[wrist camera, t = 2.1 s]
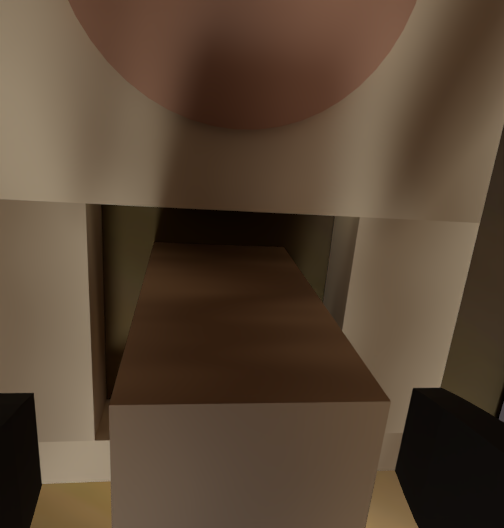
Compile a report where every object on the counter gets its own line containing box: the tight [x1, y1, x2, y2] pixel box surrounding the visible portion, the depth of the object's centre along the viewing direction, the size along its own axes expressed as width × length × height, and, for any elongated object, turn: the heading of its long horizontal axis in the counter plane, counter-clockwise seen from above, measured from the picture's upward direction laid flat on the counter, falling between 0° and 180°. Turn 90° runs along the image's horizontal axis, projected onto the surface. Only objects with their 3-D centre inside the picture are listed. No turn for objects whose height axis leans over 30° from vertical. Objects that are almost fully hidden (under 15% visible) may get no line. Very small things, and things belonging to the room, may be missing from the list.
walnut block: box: [109, 242, 391, 528], centre depth 11 cm, size 4×4×8 cm
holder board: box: [0, 0, 504, 484], centre depth 12 cm, size 14×19×2 cm
